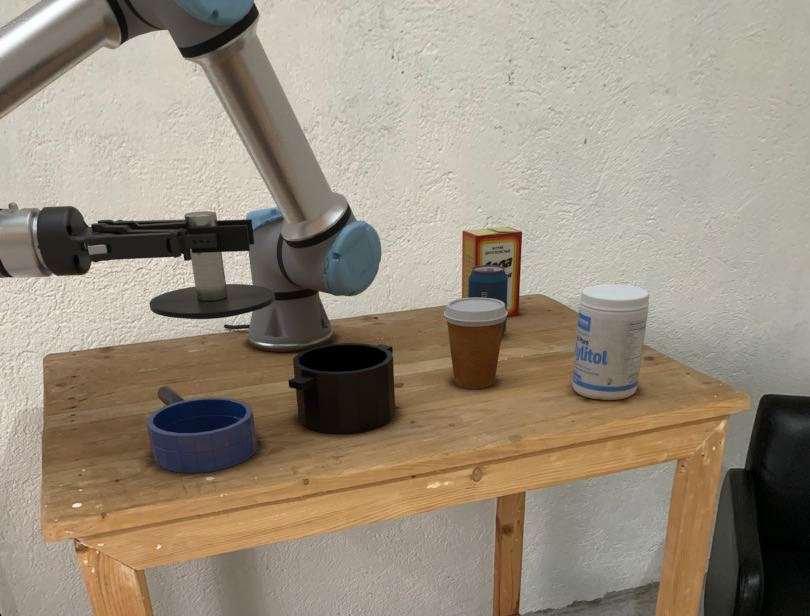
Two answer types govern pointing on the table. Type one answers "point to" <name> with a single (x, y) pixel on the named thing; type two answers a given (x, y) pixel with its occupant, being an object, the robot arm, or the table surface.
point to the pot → (344, 387)
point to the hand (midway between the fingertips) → (250, 234)
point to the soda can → (489, 284)
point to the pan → (202, 434)
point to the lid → (210, 286)
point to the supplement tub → (609, 341)
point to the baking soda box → (494, 258)
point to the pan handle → (168, 396)
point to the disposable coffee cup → (475, 339)
